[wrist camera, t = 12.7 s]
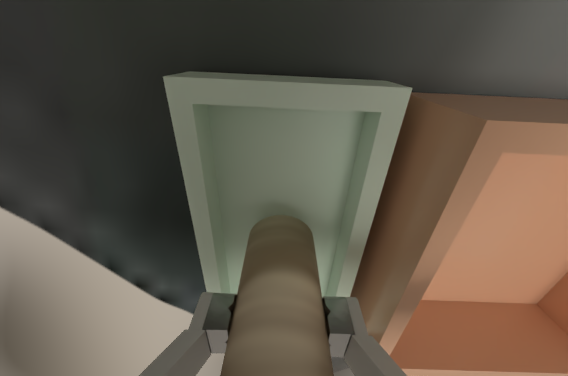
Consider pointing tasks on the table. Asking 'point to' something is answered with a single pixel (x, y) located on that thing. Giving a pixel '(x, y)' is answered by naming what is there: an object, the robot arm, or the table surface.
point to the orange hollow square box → (472, 239)
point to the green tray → (283, 163)
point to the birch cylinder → (279, 305)
